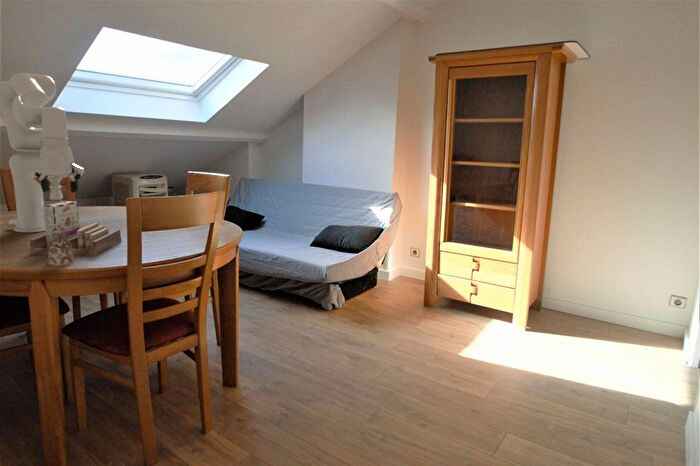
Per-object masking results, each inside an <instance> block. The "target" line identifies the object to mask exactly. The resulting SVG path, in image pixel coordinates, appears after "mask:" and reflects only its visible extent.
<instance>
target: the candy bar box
mask: <svg viewBox="0 0 700 466" xmlns="http://www.w3.org/2000/svg"><path fill="white" fill-rule="evenodd" d="M78 207H79V206H78V201H70V200H66V201H64V202H59V203H54V204H50V203H49V204H44V205H43V213H44V223H45V231H44V232H45V234H46V241H47V248H49V244H50V242H51V241H52V240H53V237H52V231H53V229H54V228H56V227H57V226H61V227H62V228H64V229H65V230H66V239H67V240H68V239H70V238H73V237H75V236H77V230H79V229H81V228H80V221H79V220H80V218H79V210H78V209H79V208H78Z"/></svg>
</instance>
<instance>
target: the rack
mask: <svg viewBox="0 0 700 466" xmlns="http://www.w3.org/2000/svg"><path fill="white" fill-rule="evenodd" d="M68 241H69V242H70V243H71V245H72V250H73V256H74V257H75V256H76V257H78V256H79V257H80V256H81V257H83V256H85V257H96V256H99V255H101V254H102V253H104V252H106V251H107V250H110V249H111V248H113V247H115V246H116V245H118V244H120V243H121V242H122V236H121V229H119V228H117V229H115V230H113V231H111V232H108V234H107V235H105V236H103V237H101V238H99V239H97V240H95V241H92V246H93V250H90V249H78V240H77V236H75V237H73V238H70V239H68ZM29 243H30V244H29V245H30V248H29V254H30V255H39V256H40V255H41V256H43V255H45V256H47V255H49V248H47V241H46V233H44V234H41V235H39V236H35V237H33V238H31V239H29Z"/></svg>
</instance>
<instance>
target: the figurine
mask: <svg viewBox="0 0 700 466" xmlns="http://www.w3.org/2000/svg"><path fill="white" fill-rule="evenodd" d="M52 237H53V240H52V241H51V242H50V244H49V255H48V257H47V263H48V265H50V266H55V267H56V266H57V267H59V266H65V265H71V264H73V263H74V262H75V259H74V257H75V256H74V255H73V250H72V245H71V243H70V242H69V241H68V240H67V239H66V230H65V229H64V228H62V227H61V226H57V227H56V228H54V229H53V231H52Z"/></svg>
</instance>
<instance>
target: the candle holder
mask: <svg viewBox="0 0 700 466" xmlns="http://www.w3.org/2000/svg"><path fill="white" fill-rule="evenodd" d="M63 178H68V176H50V177H48V178H47V180H48V181H49V183H50V184H49V189H50V193H49V194H50V195H49V200H50V201H49V204H54V203H59V202H65V201H63V200H62V199H63V198H64V196H63V193H62V189H61V188H62V187H63V186H62V185H61V184H60V182H61V181H62V179H63Z"/></svg>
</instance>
